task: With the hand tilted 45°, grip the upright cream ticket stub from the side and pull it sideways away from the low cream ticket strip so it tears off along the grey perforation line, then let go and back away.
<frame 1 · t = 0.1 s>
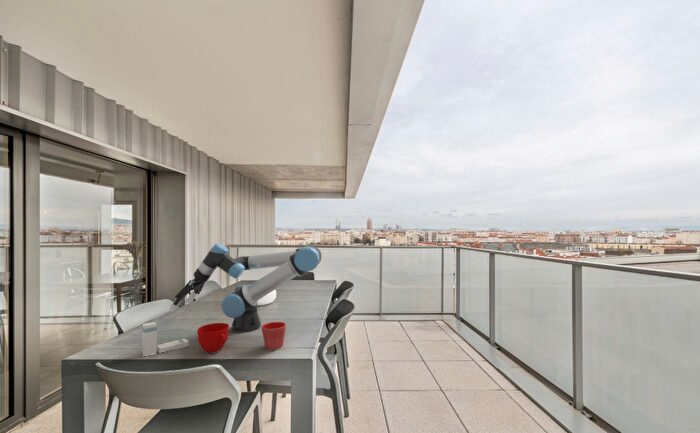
hand: (180, 306, 150), 15 cm above the table, tool tilted 35°, fingers open, 13 cm apart
flower pot: (274, 347, 136), on the table
ceramic cup: (215, 351, 132), on the table
strip: (172, 347, 136), on the table
stub: (149, 339, 130), point 6 cm above the table, slide at 0.0 cm
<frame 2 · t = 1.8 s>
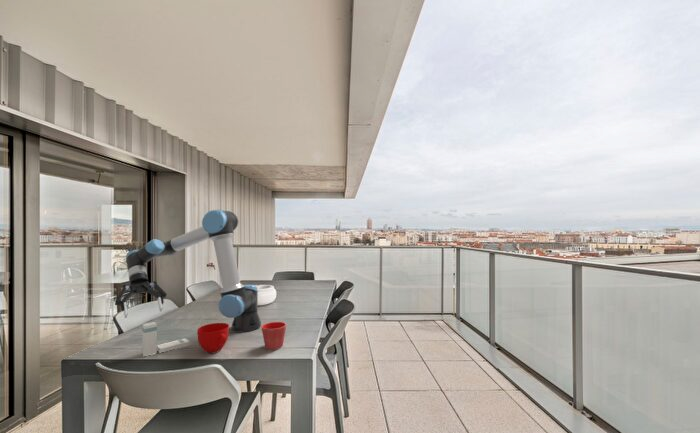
hand: (144, 312, 137), 16 cm above the table, tool tilted 45°, fingers open, 13 cm apart
nothing on the table moved.
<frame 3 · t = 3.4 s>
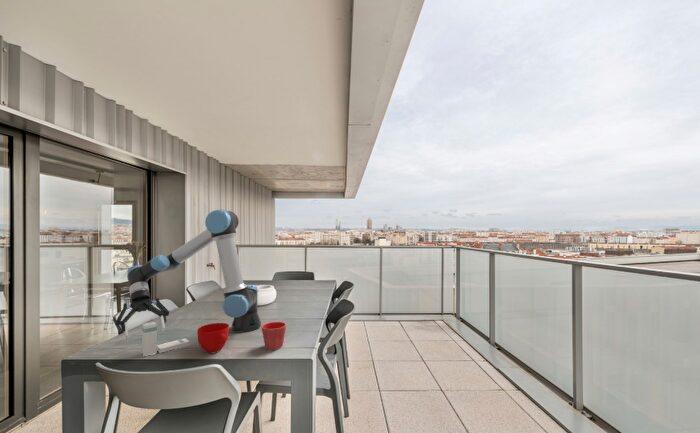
hand: (146, 333, 131), 9 cm above the table, tool tilted 45°, fingers open, 13 cm apart
nothing on the table moved.
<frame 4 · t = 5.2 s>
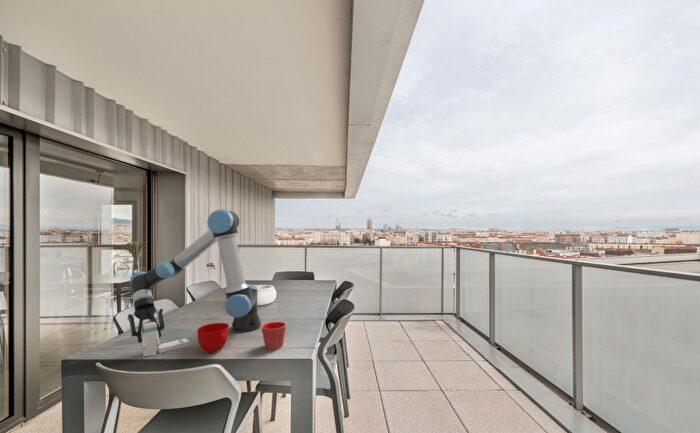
hand: (151, 346, 127), 4 cm above the table, tool tilted 45°, fingers closed on stub, 4 cm apart
stub: (149, 339, 130), point 7 cm above the table, slide at 0.0 cm, touching gripper
everything else where it was.
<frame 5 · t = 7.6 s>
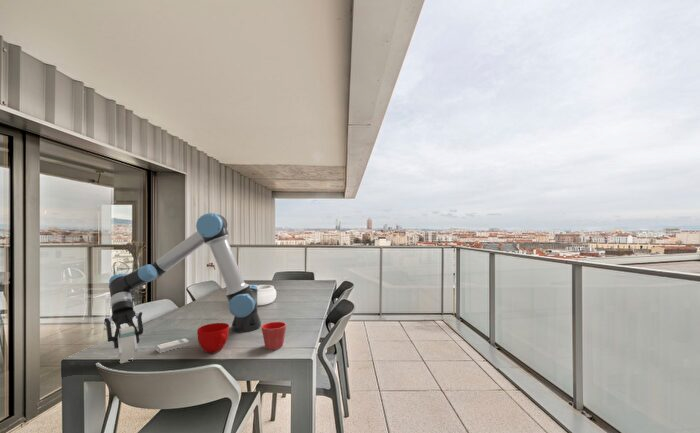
hand: (128, 352, 121), 4 cm above the table, tool tilted 45°, fingers closed on stub, 4 cm apart
stub: (126, 344, 124), point 6 cm above the table, slide at 8.0 cm, touching gripper
everything else where it was.
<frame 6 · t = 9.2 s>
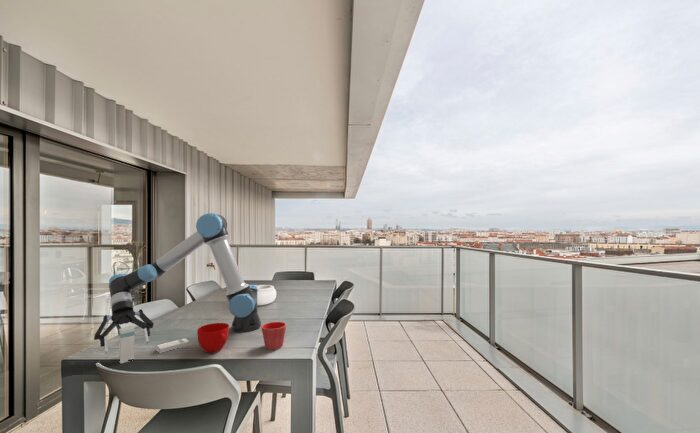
hand: (127, 347, 122), 6 cm above the table, tool tilted 45°, fingers open, 13 cm apart
stub: (126, 344, 124), point 7 cm above the table, slide at 8.0 cm
everything else where it was.
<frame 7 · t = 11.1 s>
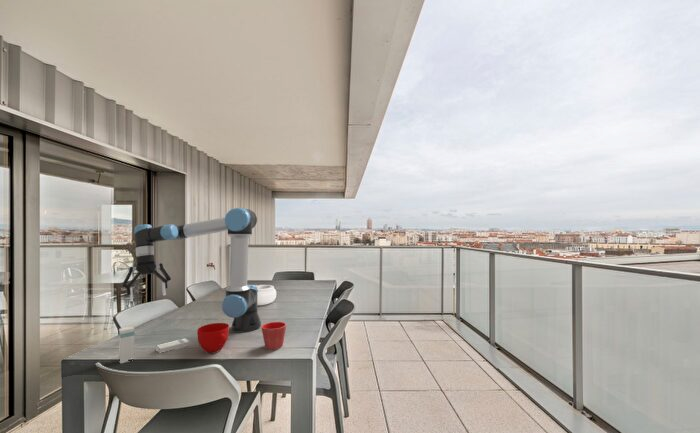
hand: (148, 298, 145), 21 cm above the table, tool pointing down, fingers open, 13 cm apart
nothing on the table moved.
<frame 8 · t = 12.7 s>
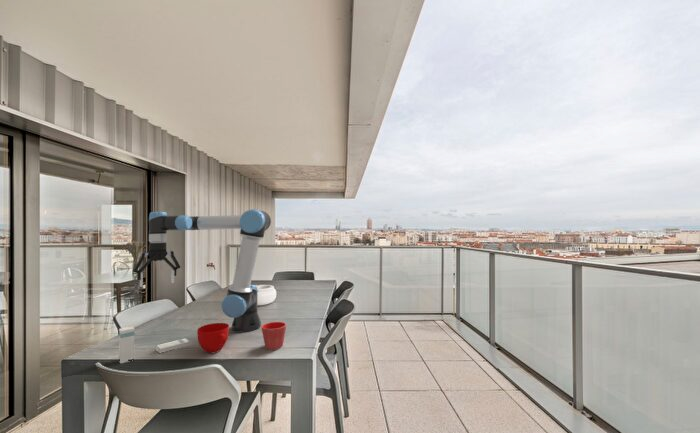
hand: (157, 284, 149), 27 cm above the table, tool pointing down, fingers open, 13 cm apart
nothing on the table moved.
at the end: stub slide at 8.0 cm; the gripper is holding nothing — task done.
